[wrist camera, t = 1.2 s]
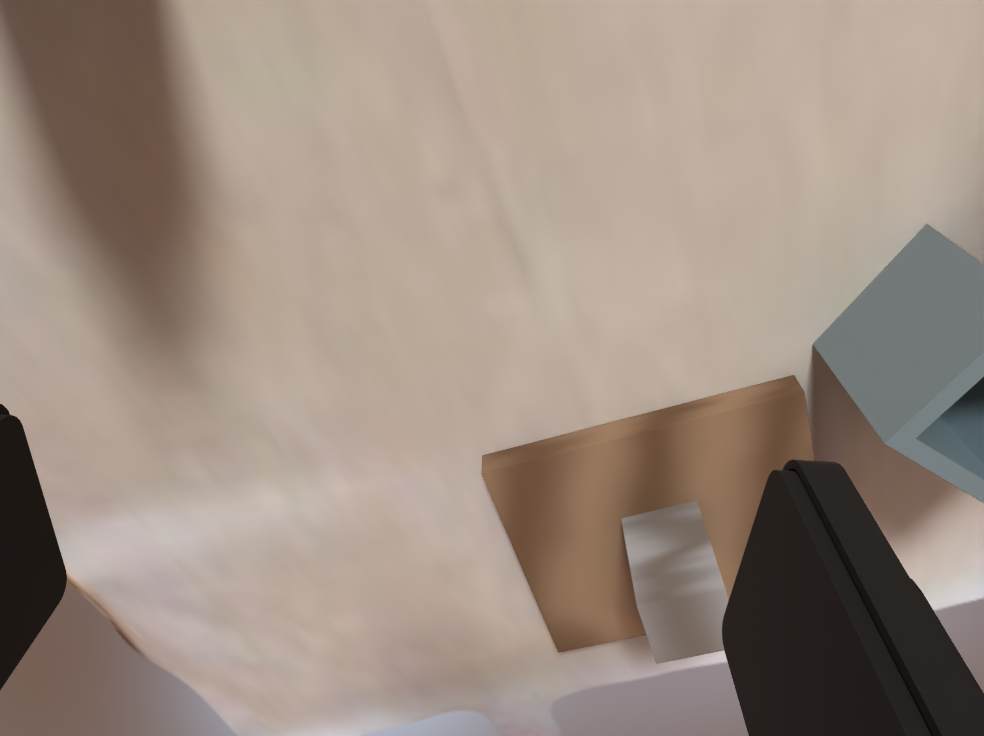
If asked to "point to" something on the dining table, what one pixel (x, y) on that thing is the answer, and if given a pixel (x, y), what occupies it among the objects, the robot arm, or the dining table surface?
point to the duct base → (636, 480)
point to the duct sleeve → (919, 358)
